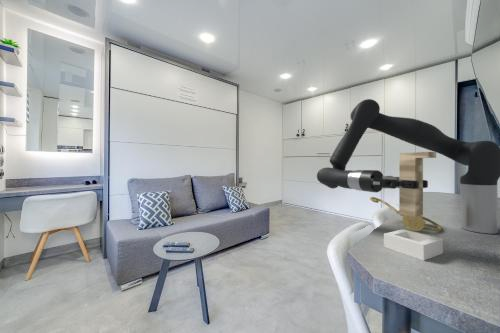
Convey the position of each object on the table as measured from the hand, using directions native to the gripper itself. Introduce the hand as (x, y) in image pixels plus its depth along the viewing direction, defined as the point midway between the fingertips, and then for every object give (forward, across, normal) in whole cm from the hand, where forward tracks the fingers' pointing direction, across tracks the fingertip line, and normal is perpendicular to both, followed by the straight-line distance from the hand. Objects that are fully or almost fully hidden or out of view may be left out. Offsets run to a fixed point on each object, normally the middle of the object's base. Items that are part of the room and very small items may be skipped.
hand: (422, 184), depth 56 cm
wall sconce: (-7, +28, +19) cm, 34 cm away
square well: (-3, 0, +19) cm, 19 cm away
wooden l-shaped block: (-1, 0, +9) cm, 9 cm away
